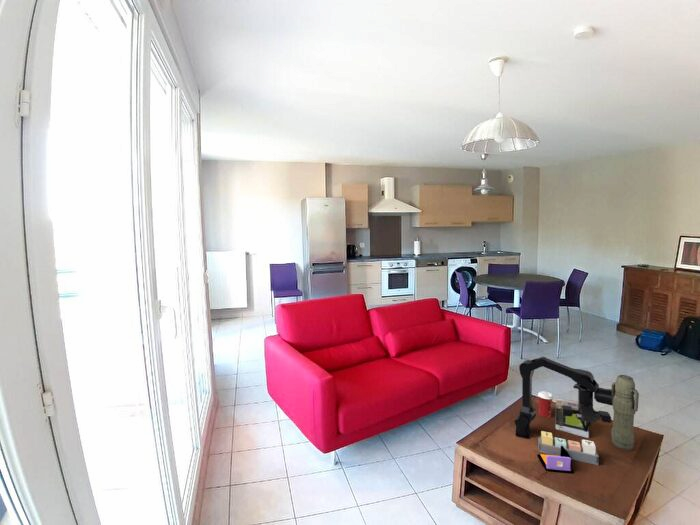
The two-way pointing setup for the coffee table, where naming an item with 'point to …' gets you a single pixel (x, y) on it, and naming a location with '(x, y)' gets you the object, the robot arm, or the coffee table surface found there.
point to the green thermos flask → (624, 412)
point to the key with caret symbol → (559, 442)
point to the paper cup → (545, 404)
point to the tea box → (569, 419)
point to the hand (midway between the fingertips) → (585, 431)
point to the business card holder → (557, 462)
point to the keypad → (574, 454)
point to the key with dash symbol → (574, 446)
